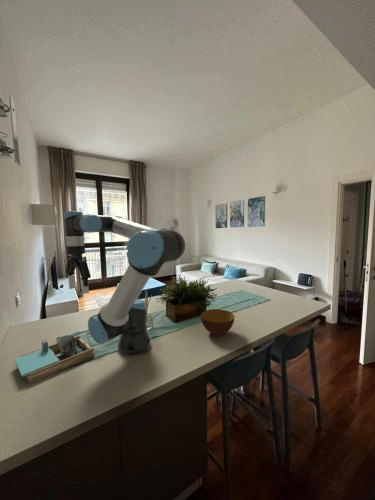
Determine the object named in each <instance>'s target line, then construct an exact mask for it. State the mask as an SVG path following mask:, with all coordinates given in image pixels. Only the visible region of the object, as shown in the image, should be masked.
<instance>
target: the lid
mask: <svg viewBox="0 0 375 500" xmlns="http://www.w3.org/2000/svg"><path fill="white" fill-rule="evenodd" d="M48 346H49V342H48V340H47V339H43V340H41V348H40V349H41V350H39V349H38V350H39V351H36V350H35V351H36V352H33V351H32V352H33V353H30V352H29V353H30V354H28V353H26V354H27V355H25V354H23V355H24V356H22V355H20V356H21V357H16V358H14V362H15V365H16V367H17V369H18V372H19V373H20V377H21V378H24V377H26V376H27V375H28V374H29V373H32V372H34V371H37V370H39V369H42V368H44V367H47V366H49V365H51V364H54V363H56V362H59V361H58V359H59V358H58V357H57V358H58V359H57V358H56V357H55V355H56V354H55V353H54V354H55V355H54V354H53V353H52V352H51V350H50V349H49V348H48Z"/></svg>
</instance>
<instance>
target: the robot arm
mask: <svg viewBox="0 0 375 500" xmlns="http://www.w3.org/2000/svg"><path fill="white" fill-rule="evenodd" d="M63 222H64V231H65V232H64V233H65V245H66V254H67V260H66V261H67V262H66V267H65V268H66V269H65V273H66V274H67V276H68V277H67V278H68V289H69V290H72V289H76V287H77V286H76V285H77V284H76V272H75V271H76V268H77V270H78V272H79V274H80V276H81V278H80V283H81V294H82V295H84V294H89V293H90V289H89V288H90V287H89V279H91V278H92V277H91V273H90V268H89V265H88V261H87V256H83V254H85V253H86V246H85V240H86V238H85V233H89V234H90V233H92V234H93V233H112V234H116V235H119V236H122V237H123V238H127V239H128V242H127V245H126V250H127V251H126V257H127V262H128V264H129V265H128V266H127V268H126V270H125V272H124V273H123V275H122V277H121V279H120V281H119V283H118V285H117V286H116V288H115V290H114V292H113V294H112V296H111V298H110V300H109V302H107V303H105V304H103V305H102V307H101V308H100V310H99V312H98V313H97V314H93V315H92V316H90V317H89V318H88V320H87V327H88V332H89V334H90V337H91V338H92V340H93V341H94V342H95V343H97V344H99V345H103V344H105V343H107V342H110V341H112V340H114V339H115V338H117V337H119V340H118V343H117V352H118V353H119V354H120V355H122V356H124V357H125V356H126V357H134V356H135V357H136V356H140V355H143V354H144V353H146V352H148V351H149V350H150V348H151V339H150V336H149V333H148V331H147V308H146V307H147V306H146V302H145V301H144V300H143V299H140V298H139V296H140V295H141V293H142V291H143V289H144V288H145V286H146V285H147V283H148V281H149V280H150V278H151V277H154V276H157V274H158V273H159V272H160V270H161V269H162V267H163V266H164V265H165V264H166V263H167V264H168V263H172V262H175V261H177V260H179V259H180V258H181V257H182V256H183V254H184V252H185V250H186V240H185V238H184V237H183V235H182V234H181V233H179V232H178V231H176V230H170V229H167V228H160V229H158V228H154V227H151V226H148V225H144V224H142V223H137V222H134V221H130V220H128V219H124V218H123V217H122V216H117V215H97V214H92V213H90V214H89V213H88V214H87V213H86V214H83V212H82V211H78V210H71V211H69V210H68V211H64V221H63Z"/></svg>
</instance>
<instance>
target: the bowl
mask: <svg viewBox="0 0 375 500" xmlns="http://www.w3.org/2000/svg"><path fill="white" fill-rule="evenodd" d="M200 320H201V323H202V325H203V327H204V328H205V330H206V331H208V332H209V333H210V334H211V335H212V336H214V337H221V336H224V334H226V333H228V332H229V331H230V330H231V329H232V327H233V325H234V322H235V315H234V313H232V312H230V311H228V310H225V309H218V308H217V309H216V308H215V309H214V308H213V309H212V308H211V309H207V310H204V311H202V312H201V314H200Z"/></svg>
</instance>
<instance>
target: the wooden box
mask: <svg viewBox="0 0 375 500" xmlns="http://www.w3.org/2000/svg"><path fill="white" fill-rule="evenodd" d="M74 339H75V342H76V345H79V346H81V347H82V348H83V349H84V350H83V351H81V352H78V353H77V354H76V355H74V356H71V357H69V356H68V357H66V358H64V359H62V360H60V359H59V358H58V357H57V354H55V353H57V352H61V351H60V349H59V346H58V342H57V343H53V344H52V345H51V344H50V345H48V348H49V349H50V350H51V352H52V353H53V354H54V355H55V357H56V358H57V359H58V361H59V362H56V363H54V364H51V365H49V366H47V367H44V368H42V369H39V370H37V371H34V372H32V373H29V374H28V375H27V376H25V377H26V379H27V381H28V384H31V383H34V382H36V381H38V380H40V379H42V378H45V377H47V376H49V375H52V374H54V373H56V372H59V371H60V370H63V369H66V368H68V367H71V366H73V365H75V364H78V363H80V362H81V361H85V360H87V359H89V358H91V357H94V356H95V348H94V347H91V346H90V345H89V344H88V343H87V342H85V341H84V340H83V339H82V338H81V337H80V335H77V336H74ZM41 349H42V348H39V349H36V350H34V351H30V352H27V353H26V354H22V355H20V356H19V357H21V356H24V355H27V354H30V353H33V352H36V351H39V350H41ZM19 357H18V358H19Z"/></svg>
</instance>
